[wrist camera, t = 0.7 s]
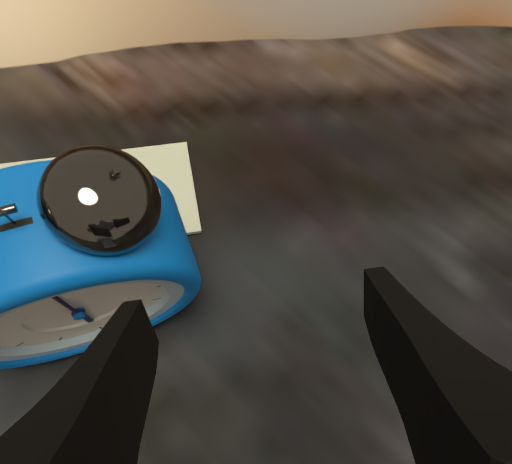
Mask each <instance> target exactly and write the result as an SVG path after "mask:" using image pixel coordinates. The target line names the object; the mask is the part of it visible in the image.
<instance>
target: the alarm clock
mask: <svg viewBox="0 0 512 464" xmlns="http://www.w3.org/2000/svg"><path fill="white" fill-rule="evenodd" d="M200 286H201V275H200V272H199V269H198V266H197V263H196V260H195V257H194V254H193V251H192V248H191V245H190V242H189V239H188V236H187V233H186V230H185V227H184V224H183V222H182V219H181V216H180V213H179V210H178V207H177V204H176V201H175V198H174V196H173V194H172V192H171V190H170V189H169V188H168V187H167V185H166V184H165V183H163V182H162V181H161V180H160V179H158V178H157V177H155V176H154V175H152V174H151V173H150V171H149V170H148V169H147V168H146V167H145V165H144V164H143V163H141V162H140V161H139V160H138V159H136V158H135V157H133V156H132V155H130V154H128V153H127V152H124V151H122V150H120V149H117V148H113V147H110V146H104V145H85V146H80V147H75V148H72V149H69V150H67V151H65V152H63V153H62V154H60V155H59V156H57V157H56V158H54V159H53V160H47V161H38V162H31V163H25V164H20V165H15V166H10V167H6V168H2V169H0V370H4V369H11V368H18V367H24V366H30V365H35V364H40V363H45V362H49V361H53V360H58V359H62V358H66V357H70V356H73V355H77V354H81V353H83V352H84V351H85V350H86V349H87V347H88V346H89V345H90V344H91V342H92V341H93V340H94V339H95V337H96V336H97V335H98V334H99V332H100V331H101V330H102V328H103V327H104V326H105V324H106V323H107V322H108V320H109V319H110V318H111V317H112V315H113V314H114V313H115V311H116V310H117V309H118V308H119V306H120V305H121V304H122V303H123V302H125V301H132V300H140V299H141V300H142V302H143V305H144V307H145V310H146V312H147V314H148V317H149V319H150V322H151V324H152V327H153V326H155V325H157V324H159V323H161V322H163V321H165V320H166V319H168V318H170V317H172V316H173V315H175V314H176V313H178V312H179V311H181V310H182V309H183V308H185V307H186V306H187V305H188V304H189V303H190V302H191V301H192V300H193V299H194V298H195V296H196V295H197V294H198V292H199V290H200Z"/></svg>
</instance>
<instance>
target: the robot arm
mask: <svg viewBox="0 0 512 464" xmlns="http://www.w3.org/2000/svg"><path fill="white" fill-rule="evenodd" d="M364 318H365V322H366V325H367V329H368V333H369V336H370V340H371V343H372V346H373V348H374V351H375V353H376V356H377V358H378V361H379V363H380V366H381V368H382V371H383V373H384V375H385V378H386V380H387V383H388V385H389V388H390V390H391V392H392V395H393V397H394V400H395V402H396V404H397V407H398V410H399V412H400V415H401V418H402V420H403V423H404V427H405V430H406V433H407V436H408V440H409V443H410V446H411V450H412V453H413V456H414V460H415V463H416V464H512V371H510V370H508V369H507V368H505V367H503V366H502V365H500V364H498V363H497V362H495V361H494V360H492V359H491V358H489V357H488V356H486V355H485V354H483V353H482V352H480V351H479V350H477V349H476V348H475V347H473V346H472V345H470V344H469V343H468V342H466V341H465V340H464V339H462V338H461V337H460V336H458V335H457V334H456V333H455V332H453V331H452V330H451V329H450V328H448V327H447V326H446V325H445V324H444V323H442V322H441V321H440V320H439V319H438V318H436V317H435V316H434V315H433V314H432V313H431V312H430V311H429V310H427V309H426V308H425V307H424V306H423V305H422V304H421V303H420V302H419V301H418V300H417V299H416V298H414V297H413V296H412V295H411V294H410V293H409V292H408V291H407V290H406V289H405V288H404V287H403V286H402V285H401V284H400V283H399V282H398V281H397V280H396V278H395V277H394V276H393V275H392V274H391V273H390V272H389V271H388V270H387V269H386V268H385V267H377V268H370V269H364ZM158 345H159V341H158V339H157V336H156V334H155V331H154V329H153V327H152V324H151V322H150V319H149V317H148V314H147V312H146V310H145V307H144V305H143V302H142V300H141V299H140V300H132V301H125V302H123V303H122V304H121V305H120V306H119V308H118V309H117V310H116V311H115V313H114V314H113V315H112V317H111V318H110V319H109V320H108V322H107V323H106V324H105V326H104V327H103V328H102V330H101V331H100V332H99V334H98V335H97V336H96V337H95V339H94V340H93V341H92V342H91V344H90V345H89V346H88V347H87V349H86V350H85V351H84V352H83V354H82V355H81V356H80V357H79V358H78V360H77V361H76V362H75V363H74V364H73V365H72V367H71V368H70V369H69V370H68V371H67V372H66V373H65V375H64V376H63V377H62V378H61V379H60V380H59V381H58V382H57V384H56V385H55V386H54V387H53V388H52V389H51V390H50V391H49V392H48V393H47V394H46V395H45V396H44V397H43V398H42V399H41V400H40V401H39V402H38V403H37V404H36V405H35V406H34V407H33V408H32V409H31V410H30V411H29V412H27V413H26V414H25V415H24V416H23V417H22V418H21V419H20V420H18V421H17V422H16V423H15V424H14V425H13V426H12V427H11V428H9V429H8V430H7V431H6V432H5V433H4V434H3V435H2V436H0V464H137V461H138V453H139V448H140V442H141V437H142V433H143V428H144V424H145V419H146V415H147V411H148V406H149V402H150V397H151V393H152V388H153V384H154V379H155V374H156V368H157V358H158Z"/></svg>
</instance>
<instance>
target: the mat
mask: <svg viewBox="0 0 512 464" xmlns="http://www.w3.org/2000/svg"><path fill="white" fill-rule="evenodd" d="M122 151H124V152H127V153H128V154H130V155H132V156H133V157H135V158H136V159H138V160H139V161H140V162H141V163H143V164H144V165H145V167H146V168H147V169H148V170H149V171H150V173H151V174H152V175H154V176H155V177H157V178H158V179H160V180H161V181H162V182H163V183H165V184H166V185H167V187H168V188H169V189H170V190H171V192H172V194H173V196H174V198H175V201H176V204H177V207H178V210H179V213H180V216H181V219H182V222H183V224H184V227H185V230H186V233H187V235H190V234H197V233H202V231H201V225H200V219H199V213H198V207H197V202H196V196H195V190H194V184H193V178H192V172H191V166H190V160H189V154H188V149H187V143H186V142H182V143H174V144H165V145H157V146H148V147H140V148H131V149H123V150H122ZM55 158H56V157H55ZM53 159H54V158H47V159H38V160H30V161H21V162H13V163H4V164H0V169H2V168H6V167H10V166H15V165H20V164H25V163H31V162H38V161H47V160H53Z"/></svg>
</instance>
